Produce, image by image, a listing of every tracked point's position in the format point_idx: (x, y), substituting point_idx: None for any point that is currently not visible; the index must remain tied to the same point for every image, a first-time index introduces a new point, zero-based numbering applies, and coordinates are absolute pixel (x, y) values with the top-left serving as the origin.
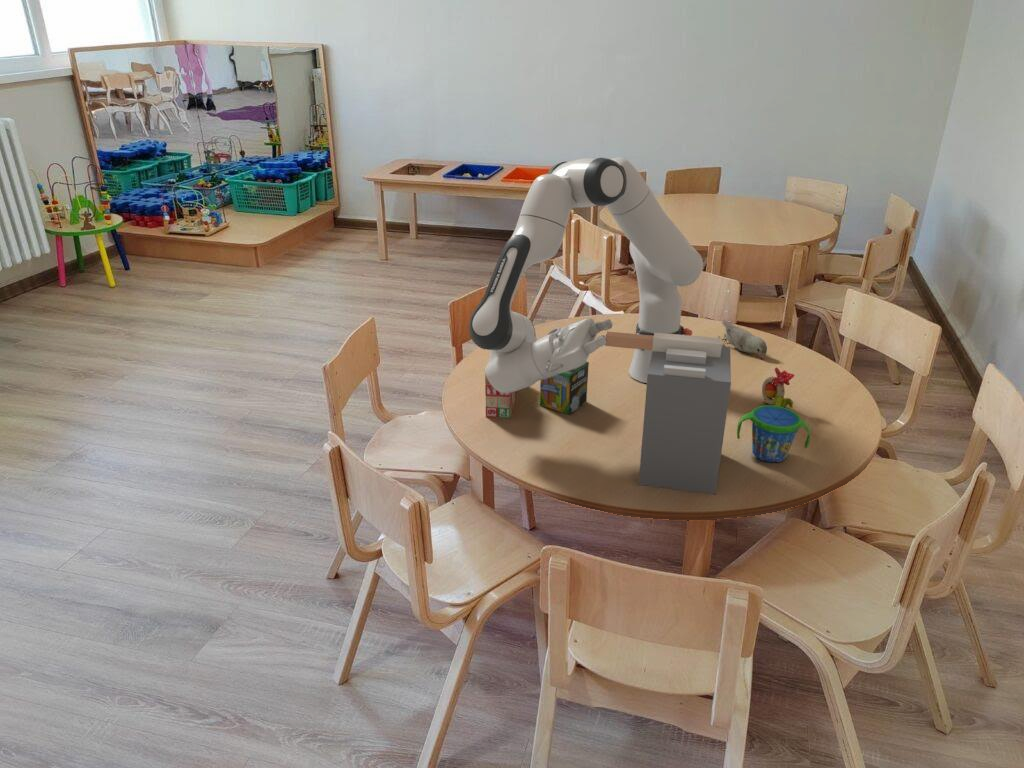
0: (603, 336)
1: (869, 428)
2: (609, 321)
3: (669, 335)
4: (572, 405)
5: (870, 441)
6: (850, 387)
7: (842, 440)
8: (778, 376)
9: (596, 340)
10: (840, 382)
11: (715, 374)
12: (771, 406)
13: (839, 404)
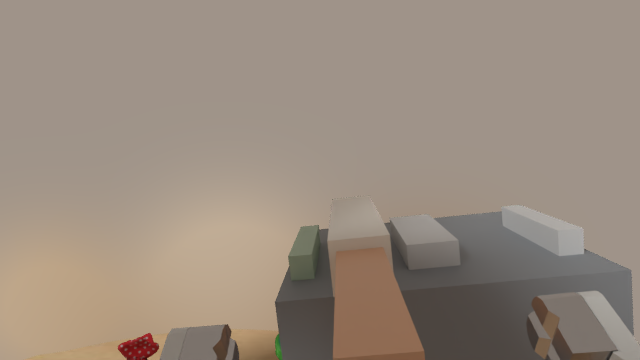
0: (568, 293)
1: (232, 331)
2: (214, 326)
3: (346, 225)
4: None
5: (266, 330)
6: (114, 344)
7: (265, 347)
8: (134, 353)
9: (638, 346)
10: (94, 351)
11: (479, 221)
12: (279, 341)
13: (161, 351)
